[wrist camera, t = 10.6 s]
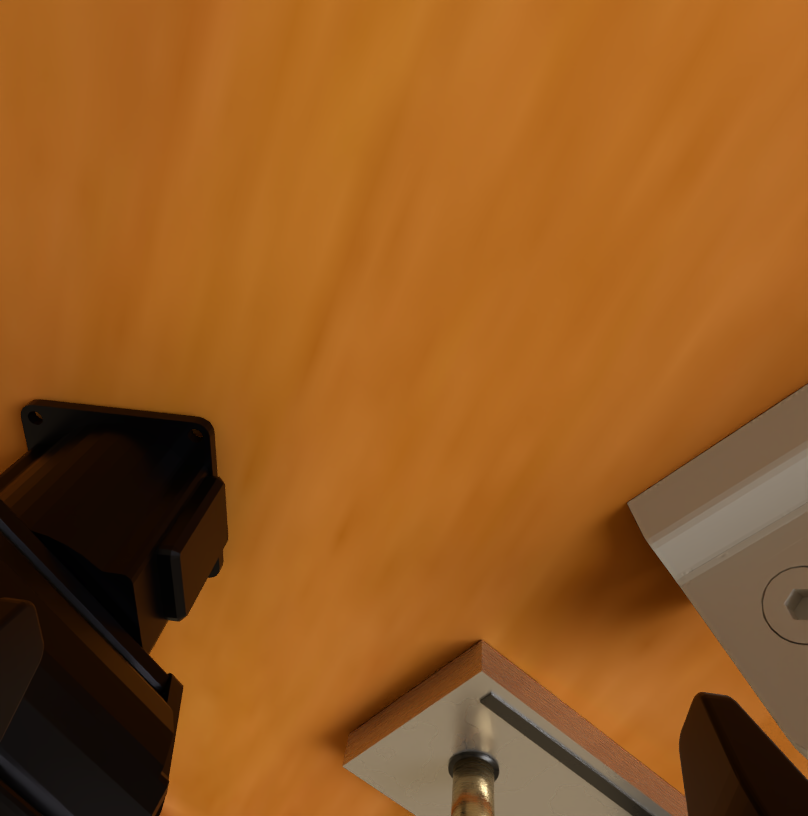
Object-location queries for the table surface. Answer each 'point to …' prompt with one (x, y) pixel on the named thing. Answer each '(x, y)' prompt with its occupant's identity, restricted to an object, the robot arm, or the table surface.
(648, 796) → the bolt plate
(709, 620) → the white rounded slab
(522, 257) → the table surface
